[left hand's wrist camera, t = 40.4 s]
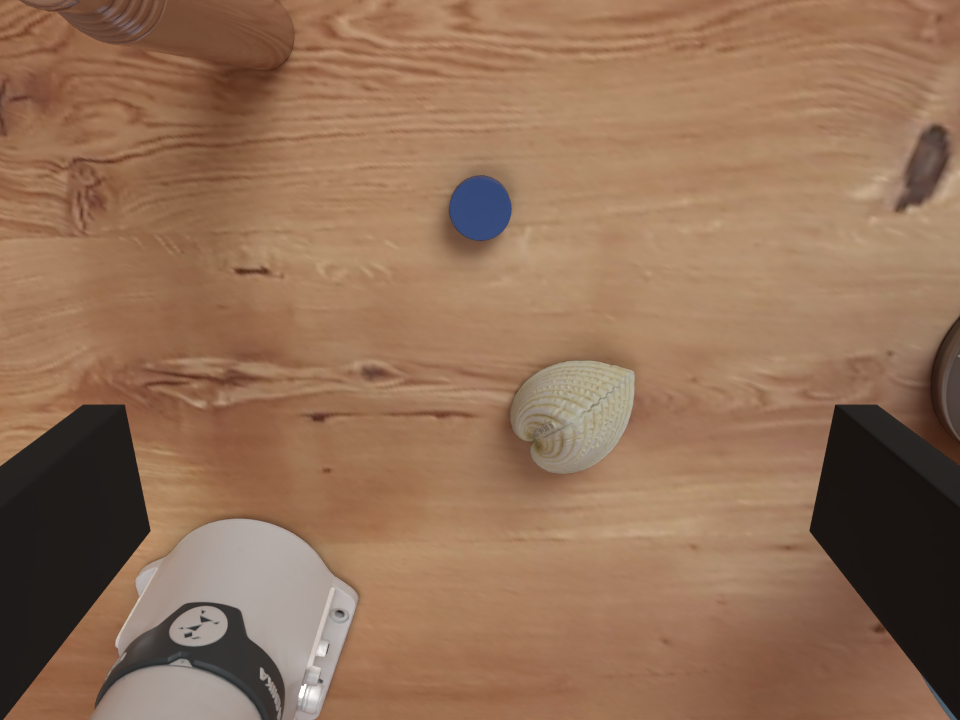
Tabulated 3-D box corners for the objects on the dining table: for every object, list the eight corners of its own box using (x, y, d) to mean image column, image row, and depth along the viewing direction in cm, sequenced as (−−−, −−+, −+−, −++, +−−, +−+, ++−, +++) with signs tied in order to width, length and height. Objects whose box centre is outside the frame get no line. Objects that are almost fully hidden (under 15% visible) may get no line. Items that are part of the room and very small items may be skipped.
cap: (460, 243, 48) (459, 247, 46) (442, 185, 46) (441, 188, 45) (517, 226, 47) (518, 230, 46) (501, 167, 46) (501, 169, 44)
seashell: (475, 410, 49) (545, 364, 44) (539, 372, 56) (608, 328, 50) (534, 504, 49) (613, 470, 43) (592, 456, 55) (667, 420, 49)
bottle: (209, 15, 42) (-71, -82, 21) (268, -22, 42) (41, -163, 20) (250, 83, 44) (26, 58, 22) (307, 48, 43) (134, -13, 22)
